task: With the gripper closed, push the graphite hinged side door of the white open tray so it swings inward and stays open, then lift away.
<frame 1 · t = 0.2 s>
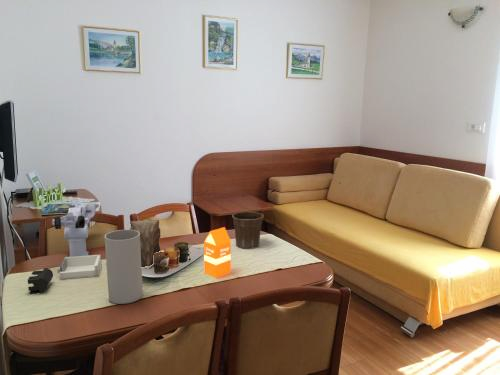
hand: (66, 226, 176), 21 cm above the table, tool horizontal, fingers open, 7 cm apart
brown rough block: (145, 264, 192), on the table
cylinder vase: (126, 297, 159), on the table
side door: (62, 266, 179), point 3 cm above the table, hinge at 0.0°
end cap: (41, 289, 166), on the table
plant pot: (247, 245, 218), on the table
white open tray: (81, 272, 182), on the table
orange juice: (217, 273, 183), on the table
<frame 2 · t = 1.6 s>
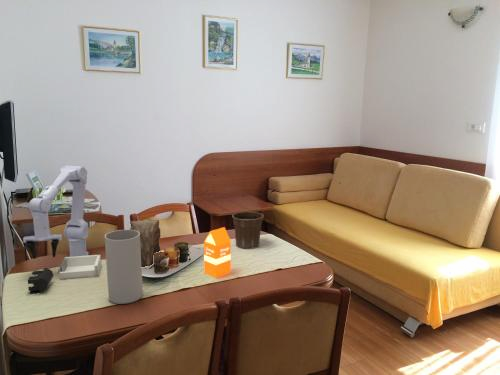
hand: (44, 257, 176), 8 cm above the table, tool pointing down, fingers open, 7 cm apart
nothing on the table moved.
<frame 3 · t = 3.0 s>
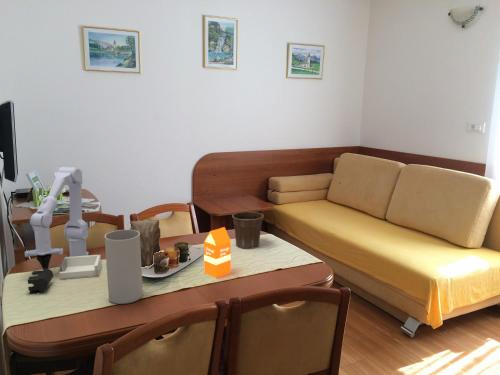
hand: (46, 270, 177), 2 cm above the table, tool pointing down, fingers closed
nothing on the table moved.
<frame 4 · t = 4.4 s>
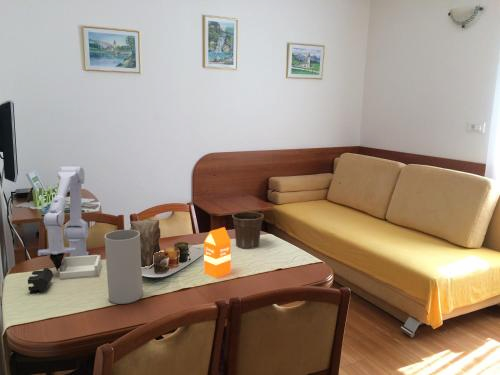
hand: (58, 269, 179), 2 cm above the table, tool pointing down, fingers closed, pressing on side door
side door: (62, 266, 179), point 3 cm above the table, hinge at 0.0°, touching gripper
everything else where it was.
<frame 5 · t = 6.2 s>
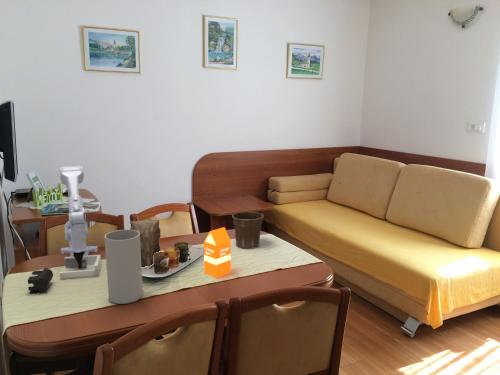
hand: (80, 267, 181), 2 cm above the table, tool pointing down, fingers closed, pressing on side door
side door: (75, 263, 183), point 3 cm above the table, hinge at 69.2°, touching gripper
everything else where it was.
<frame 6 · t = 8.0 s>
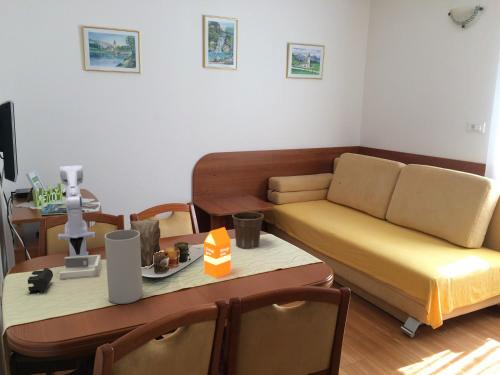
hand: (78, 253, 180), 9 cm above the table, tool pointing down, fingers closed
side door: (76, 262, 184), point 3 cm above the table, hinge at 81.3°
everything else where it was.
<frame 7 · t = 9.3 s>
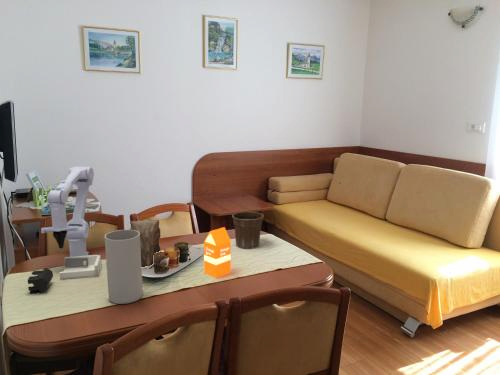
hand: (61, 247, 182), 10 cm above the table, tool pointing down, fingers closed
nothing on the table moved.
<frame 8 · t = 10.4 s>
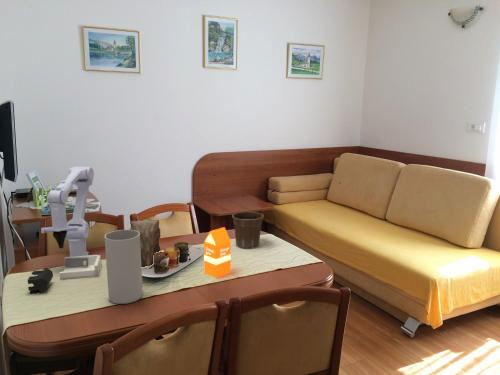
hand: (61, 247, 182), 10 cm above the table, tool pointing down, fingers closed
nothing on the table moved.
at the end: side door at +81° (first picture: +0°); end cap moved 0.3 cm from its start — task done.
